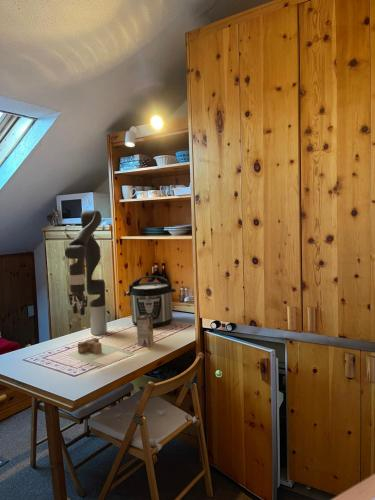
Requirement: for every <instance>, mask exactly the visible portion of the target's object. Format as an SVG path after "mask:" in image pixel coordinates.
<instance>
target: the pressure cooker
mask: <svg viewBox="0 0 375 500" xmlns="http://www.w3.org/2000/svg"><path fill="white" fill-rule="evenodd" d="M143 279H147V281H146V282H141V281H142V280H143ZM155 279H158V280H159V281H154V280H155ZM140 282H141V283H140ZM172 293H176V288H172V282H171V281H168V279H167V278H164V277H163V276H158V275H146V276H145V275H144V276H142V277H139V278H136V279H135V280H133V281H132V283H130V284H129V285H128V291H126V292H125V295H126V296H129V297H130V307H131V308H130V311H131V321H132V323H133V325H135V327H137V318H138V317H139V316H141V315H152V319H153V328H156V327H163V326H166V325H168V324H171V323H172V320H173V316H174V315H173V301H172V300H173V299H172Z"/></svg>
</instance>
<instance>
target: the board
mask: <svg viewBox="0 0 375 500" xmlns="http://www.w3.org/2000/svg"><path fill="white" fill-rule="evenodd" d="M101 348H102V353H99V354H93V353H90V352H86V353H83V354H80V353H78V350H77V351H75V352H71V353H67V354H66V356H68V357H70V358H73V359H76V360H79V361H81V362H84V363H87V364H91V365H93V366H96V367H98V369H102V368H104V367H107V366H109V365H112V364H115V363H117V362H119V361H122V360H125V359H127V358H130V357H132V356H134V352H133V351H130V350H129V351H128V350H125V349H121V348H118V347H116V346H111V345H107V344H104V343H101ZM111 362H112V363H111Z"/></svg>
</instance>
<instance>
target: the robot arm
mask: <svg viewBox="0 0 375 500" xmlns="http://www.w3.org/2000/svg"><path fill="white" fill-rule="evenodd" d="M80 222H81V229H80V230H79V231H78V232H77V234H76V235H75V237H74V239H73V240H72V241H70V242H69V243H68V244H67V245H66V246H65V249H64V255H65V257H66V258H67V259H69V260H72V259H73V260H76V259H77V261H76V262H73V263H71V264H69V266H68V269H69V291H70V293H68V300H69V305H70V306H71V307H72V313H73V315H74V314H75V315H76V314H78V313H79V312H80V313H79V314H80V316H84V315H85V313H86V311H85V308H86V307H87V308H88V300H89V299H88V295H89V296H94V295H95V296H97V295H99V296H98V297H97V298H95V299H92V300H91V301H89V309H90V310H89V311H90V318H89V321H90V333H91V335H93V336H102V335H105V334H107V333H108V328H107V327H108V326H107V325H108V324H107V308H106V307H107V305H106V282H105V279H93V274H94V273H95V269H96V268H97V266H98V265H99V263H100V261H101V257H102V256H101V247H100V245H99V243H98V242H97V240H96V239H95V238H94V237H93V236H94V235H93V234H94V232H95V231H96V230H97V229H98V228H99V226H100V224H101V223H102V213H101V211H99V210H95V209H94V210H82V211H81V213H80ZM84 264H85V273H86V274H85V273H84ZM84 274H85V275H84ZM85 277H86V278H85ZM85 279H86V281H85ZM85 282H86V284H85ZM85 291H86V292H87V295H85V294H84V292H85ZM78 305H79V312H78Z"/></svg>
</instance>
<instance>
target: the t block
mask: <svg viewBox="0 0 375 500" xmlns="http://www.w3.org/2000/svg"><path fill="white" fill-rule="evenodd" d="M101 344H102V343H101V342H100V339H99V338H98V337H97V338H96V337H95V338H91V339H87V340H85V341H82V342H81V341H80V342H78V343H77V349H78V350H77V351H78V353H80V354H83V353H86V352H90V353H93V354H99V353H102V348H101Z"/></svg>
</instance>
